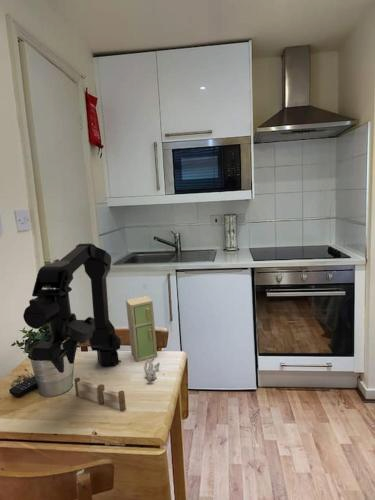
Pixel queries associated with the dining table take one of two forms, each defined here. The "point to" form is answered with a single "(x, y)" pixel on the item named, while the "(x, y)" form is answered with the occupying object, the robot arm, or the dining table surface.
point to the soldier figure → (151, 370)
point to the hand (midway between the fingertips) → (66, 367)
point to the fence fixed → (111, 398)
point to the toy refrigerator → (141, 328)
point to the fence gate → (86, 390)
